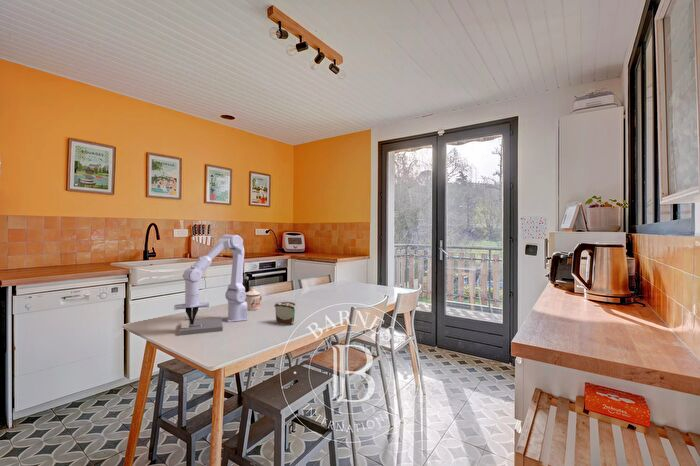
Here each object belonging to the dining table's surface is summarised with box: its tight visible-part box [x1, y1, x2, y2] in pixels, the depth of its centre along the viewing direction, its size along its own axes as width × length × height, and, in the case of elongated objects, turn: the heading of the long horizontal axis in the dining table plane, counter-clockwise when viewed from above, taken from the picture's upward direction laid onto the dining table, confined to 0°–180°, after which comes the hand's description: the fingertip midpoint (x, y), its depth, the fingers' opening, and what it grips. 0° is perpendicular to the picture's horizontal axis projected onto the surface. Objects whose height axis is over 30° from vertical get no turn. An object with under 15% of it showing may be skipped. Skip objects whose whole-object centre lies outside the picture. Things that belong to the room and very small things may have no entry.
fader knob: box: [180, 317, 189, 328], centre depth 152 cm, size 3×4×4 cm
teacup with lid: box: [244, 288, 263, 311], centre depth 195 cm, size 12×9×12 cm
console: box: [178, 317, 224, 336], centre depth 157 cm, size 18×16×2 cm
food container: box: [273, 301, 297, 326], centre depth 169 cm, size 12×6×10 cm, turn 65°
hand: (191, 323), depth 153 cm, fingers closed
